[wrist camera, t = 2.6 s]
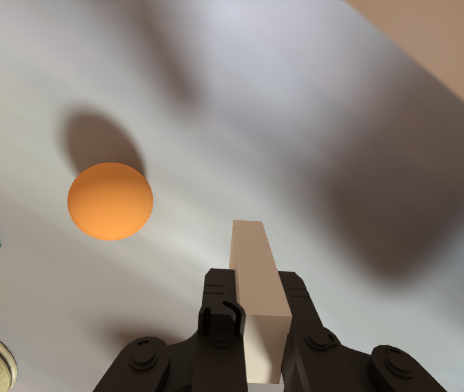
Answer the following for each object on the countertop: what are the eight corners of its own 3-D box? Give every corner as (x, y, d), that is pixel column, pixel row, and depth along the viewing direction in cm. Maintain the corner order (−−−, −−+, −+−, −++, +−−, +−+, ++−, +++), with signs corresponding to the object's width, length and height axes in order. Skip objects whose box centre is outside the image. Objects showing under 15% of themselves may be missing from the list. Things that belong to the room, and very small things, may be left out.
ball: (160, 158, 21) (138, 176, 16) (160, 223, 23) (140, 258, 17) (89, 153, 21) (42, 169, 15) (95, 218, 22) (54, 252, 17)
